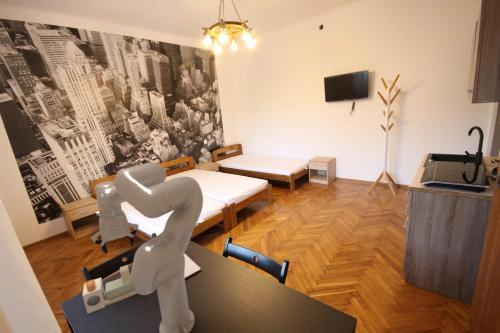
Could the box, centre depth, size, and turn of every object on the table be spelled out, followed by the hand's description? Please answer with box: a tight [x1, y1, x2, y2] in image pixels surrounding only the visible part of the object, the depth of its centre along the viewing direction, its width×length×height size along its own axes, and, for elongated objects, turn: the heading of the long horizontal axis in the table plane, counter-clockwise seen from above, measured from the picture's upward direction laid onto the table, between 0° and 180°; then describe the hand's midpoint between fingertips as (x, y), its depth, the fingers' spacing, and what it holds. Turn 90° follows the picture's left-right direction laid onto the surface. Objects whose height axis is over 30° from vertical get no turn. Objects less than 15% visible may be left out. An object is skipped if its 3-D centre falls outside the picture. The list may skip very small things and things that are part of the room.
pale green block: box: [104, 290, 138, 307], centre depth 102 cm, size 7×18×6 cm, turn 120°
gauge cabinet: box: [82, 277, 106, 315], centre depth 96 cm, size 8×6×9 cm
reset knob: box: [85, 279, 96, 291], centre depth 93 cm, size 3×3×3 cm
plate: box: [184, 252, 202, 279], centre depth 114 cm, size 19×19×2 cm
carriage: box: [104, 264, 134, 300], centre depth 100 cm, size 6×10×10 cm, turn 120°
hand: (119, 248), depth 97 cm, fingers open, 9 cm apart
